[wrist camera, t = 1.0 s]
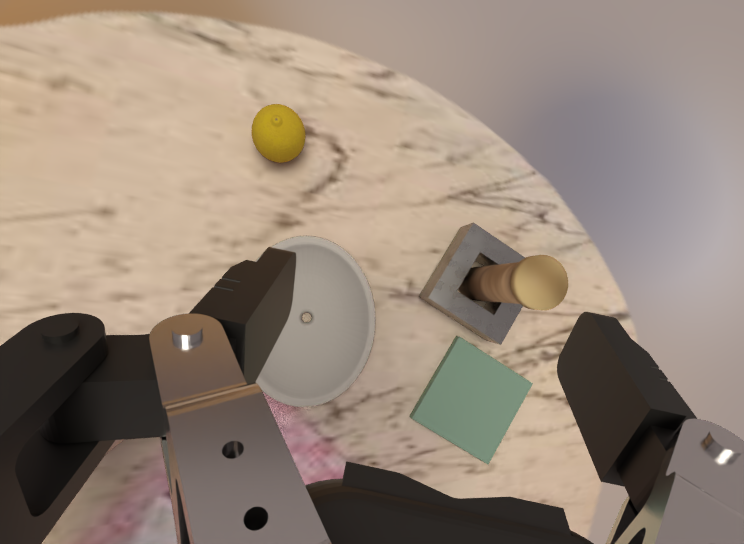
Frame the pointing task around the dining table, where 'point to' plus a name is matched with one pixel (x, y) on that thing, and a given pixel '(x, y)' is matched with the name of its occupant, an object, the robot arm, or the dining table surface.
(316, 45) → the dining table surface
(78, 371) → the robot arm
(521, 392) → the mat
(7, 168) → the dining table surface
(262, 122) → the lemon
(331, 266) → the dish
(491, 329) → the grey square socket block
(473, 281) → the peg
